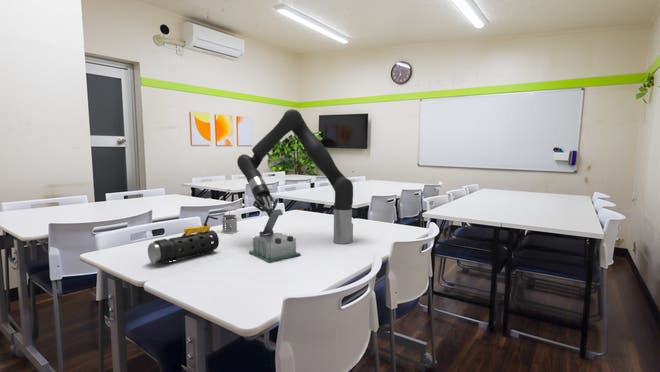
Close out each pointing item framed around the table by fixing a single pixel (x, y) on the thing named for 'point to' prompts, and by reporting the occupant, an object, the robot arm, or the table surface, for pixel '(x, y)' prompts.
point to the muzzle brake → (182, 246)
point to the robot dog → (198, 228)
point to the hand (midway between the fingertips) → (272, 217)
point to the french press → (229, 220)
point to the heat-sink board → (274, 247)
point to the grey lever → (272, 221)
